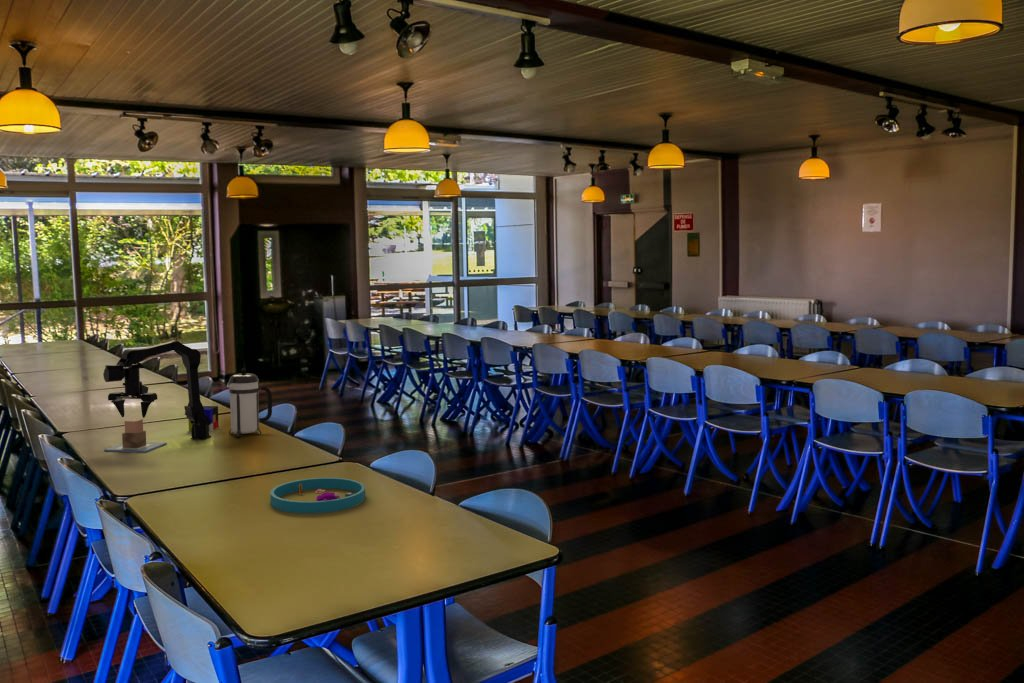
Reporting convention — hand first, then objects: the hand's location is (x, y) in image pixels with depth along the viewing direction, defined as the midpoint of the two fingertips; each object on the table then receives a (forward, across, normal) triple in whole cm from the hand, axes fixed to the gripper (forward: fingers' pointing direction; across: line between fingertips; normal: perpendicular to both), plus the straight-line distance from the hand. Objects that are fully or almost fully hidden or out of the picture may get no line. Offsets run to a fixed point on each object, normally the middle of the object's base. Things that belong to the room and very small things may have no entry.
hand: (133, 417), depth 342 cm
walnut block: (+12, 0, 0) cm, 12 cm away
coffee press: (+13, -33, -35) cm, 50 cm away
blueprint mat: (+13, 0, -1) cm, 13 cm away
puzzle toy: (+13, -8, -43) cm, 46 cm away
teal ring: (+14, -102, +62) cm, 120 cm away
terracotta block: (+6, 0, 0) cm, 6 cm away
